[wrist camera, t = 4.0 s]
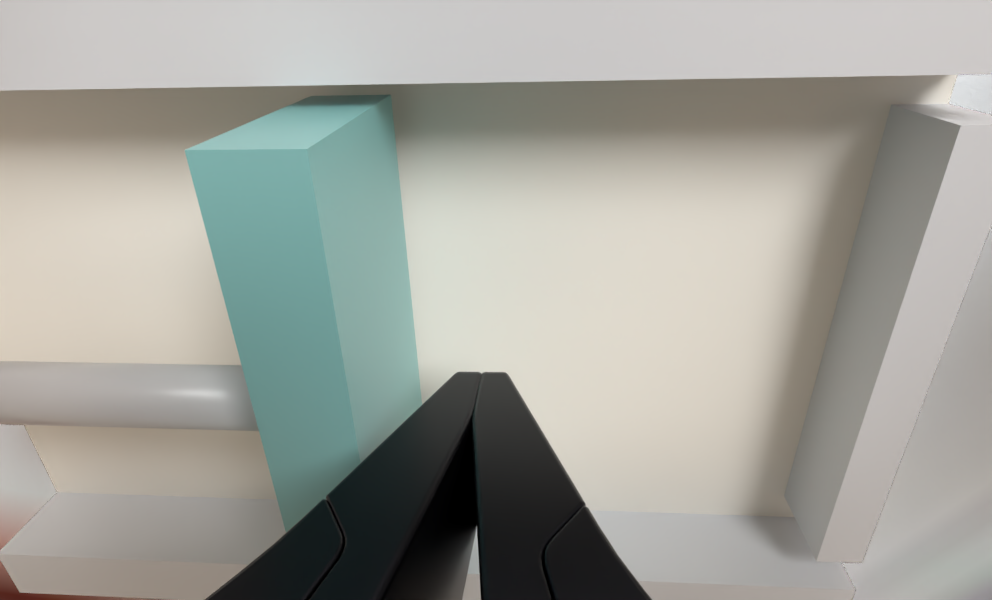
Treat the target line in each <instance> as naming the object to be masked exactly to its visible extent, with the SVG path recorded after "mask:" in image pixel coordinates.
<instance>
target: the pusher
mask: <svg viewBox="0 0 992 600" xmlns="http://www.w3.org/2000/svg"><path fill="white" fill-rule="evenodd" d="M185 154H186V158H187V162H188V165H189V169H190V173H191V177H192V181H193V184H194V188H195V192H196V196H197V199H198V203H199V207H200V211H201V214H202V218H203V222H204V226H205V230H206V233H207V237H208V241H209V245H210V248H211V252H212V256H213V260H214V263H215V267H216V271H217V275H218V279H219V282H220V286H221V290H222V294H223V297H224V301H225V305H226V309H227V312H228V316H229V320H230V324H231V328H232V331H233V335H234V339H235V343H236V346H237V350H238V354H239V358H240V361H241V365H202V364H145V363H87V362H30V361H0V424H4V425H43V426H82V427H122V428H161V429H200V430H240V431H259V433H260V437H261V441H262V444H263V448H264V452H265V456H266V459H267V463H268V467H269V471H270V475H271V478H272V482H273V486H274V490H275V493H276V497H277V501H278V505H279V508H280V512H281V516H282V520H283V524H284V527H285V531H286V532H287V531H289V530H290V529H291V528H292V527H293V526H294V525H295V524H296V523H297V522H299V521H300V520H301V519H302V518H303V517H304V516H305V515H306V514H307V513H308V512H309V511H310V510H311V509H313V508H314V507H315V506H316V505H317V504H318V503H319V502H320V501H321V500H322V499H325V500H326V496H327V495H328V494H329V493H330V492H331V491H332V490H333V489H334V488H335V487H336V486H337V485H338V484H339V483H340V482H341V481H342V480H343V479H344V478H345V477H346V476H348V475H349V474H350V473H351V472H352V471H353V470H354V469H355V468H356V467H357V466H358V465H359V464H360V463H361V462H362V461H363V460H364V459H365V458H366V457H368V456H369V455H370V454H371V453H372V452H373V451H374V450H375V449H376V448H377V447H378V446H379V445H380V444H381V443H382V442H383V441H384V440H385V439H386V438H387V437H389V436H390V435H391V434H392V433H393V432H394V431H395V430H396V429H397V428H398V427H399V426H400V425H401V424H402V423H403V422H404V421H405V420H406V419H407V418H409V417H410V416H411V415H412V414H413V413H414V412H415V411H416V410H417V409H418V408H419V407H420V406H421V405H422V399H421V389H420V379H419V369H418V359H417V349H416V339H415V329H414V319H413V309H412V299H411V289H410V279H409V269H408V259H407V249H406V240H405V230H404V220H403V210H402V200H401V190H400V180H399V170H398V160H397V150H396V140H395V130H394V120H393V110H392V100H391V95H332V96H310V97H307V98H305V99H303V100H300V101H298V102H296V103H293V104H291V105H289V106H286V107H284V108H282V109H279V110H277V111H275V112H272V113H270V114H268V115H265V116H263V117H261V118H258V119H256V120H254V121H251V122H249V123H247V124H244V125H242V126H240V127H237V128H235V129H233V130H230V131H228V132H226V133H223V134H221V135H219V136H216V137H214V138H212V139H209V140H207V141H205V142H202V143H200V144H198V145H195V146H193V147H191V148H188V149H186V150H185Z"/></svg>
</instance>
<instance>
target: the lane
mask: <svg viewBox="0 0 992 600" xmlns="http://www.w3.org/2000/svg"><path fill="white" fill-rule="evenodd" d="M975 74H992V0H0V361H30V362H87V363H145V364H202V365H241V361H240V358H239V354H238V350H237V346H236V343H235V339H234V335H233V331H232V328H231V324H230V320H229V316H228V312H227V309H226V305H225V301H224V297H223V294H222V290H221V286H220V282H219V279H218V275H217V271H216V267H215V263H214V260H213V256H212V252H211V248H210V245H209V241H208V237H207V233H206V230H205V226H204V222H203V218H202V214H201V211H200V207H199V203H198V199H197V196H196V192H195V188H194V184H193V181H192V177H191V173H190V169H189V165H188V162H187V158H186V154H185V150H186V149H188V148H191V147H193V146H195V145H198V144H200V143H202V142H205V141H207V140H209V139H212V138H214V137H216V136H219V135H221V134H223V133H226V132H228V131H230V130H233V129H235V128H237V127H240V126H242V125H244V124H247V123H249V122H251V121H254V120H256V119H258V118H261V117H263V116H265V115H268V114H270V113H272V112H275V111H277V110H279V109H282V108H284V107H286V106H289V105H291V104H293V103H296V102H298V101H300V100H303V99H305V98H307V97H310V96H332V95H391V100H392V110H393V120H394V130H395V140H396V150H397V160H398V170H399V180H400V190H401V200H402V210H403V220H404V230H405V240H406V249H407V259H408V269H409V279H410V289H411V299H412V309H413V319H414V329H415V339H416V349H417V359H418V369H419V379H420V389H421V399H422V404H423V403H424V402H425V401H426V400H427V399H429V398H430V397H431V396H432V395H433V394H434V393H435V392H436V391H437V390H438V389H439V388H440V387H441V386H442V385H443V384H444V383H445V382H446V381H447V380H449V379H450V378H451V377H452V376H453V375H454V374H455V373H457V372H480V373H483V372H506V373H507V374H508V375H509V376H510V378H511V380H512V381H513V383H514V385H515V386H516V388H517V390H518V391H519V393H520V395H521V396H522V398H523V400H524V401H525V403H526V405H527V407H528V408H529V410H530V412H531V413H532V415H533V417H534V418H535V420H536V422H537V423H538V425H539V427H540V428H541V430H542V432H543V433H544V435H545V437H546V438H547V440H548V442H549V443H550V445H551V447H552V448H553V450H554V452H555V453H556V455H557V457H558V458H559V460H560V462H561V463H562V465H563V467H564V468H565V470H566V472H567V473H568V475H569V477H570V478H571V480H572V482H573V483H574V485H575V487H576V488H577V490H578V492H579V493H580V495H581V497H582V499H583V500H584V502H585V504H586V507H588V508H589V510H590V511H591V513H592V515H593V516H594V518H595V520H596V521H597V523H598V525H599V526H600V528H601V530H602V531H603V533H604V534H605V536H606V537H607V539H608V540H609V542H610V543H611V545H612V546H613V548H614V549H615V551H616V553H617V554H618V556H619V557H620V558H621V560H622V561H623V562H624V564H625V565H626V566H627V568H628V569H629V570H630V572H631V573H632V574H633V576H634V577H635V578H636V580H637V581H638V582H639V584H640V585H641V586H642V587H643V589H644V590H645V591H646V593H647V594H648V595H649V596H650V598H651V599H652V600H852V599H853V596H854V594H855V591H856V589H855V587H854V585H853V584H852V582H851V580H850V578H849V576H848V574H847V572H846V570H845V569H844V567H843V565H842V563H862V561H863V559H864V556H865V554H866V551H867V548H868V546H869V543H870V541H871V538H872V535H873V533H874V530H875V528H876V525H877V522H878V520H879V517H880V515H881V512H882V509H883V507H884V504H885V501H886V499H887V496H888V494H889V491H890V488H891V486H892V483H893V481H894V478H895V475H896V473H897V470H898V468H899V465H900V462H901V460H902V457H903V455H904V452H905V449H906V447H907V444H908V442H909V439H910V436H911V434H912V431H913V429H914V426H915V423H916V421H917V418H918V416H919V413H920V410H921V408H922V405H923V403H924V400H925V397H926V395H927V392H928V389H929V387H930V384H931V382H932V379H933V376H934V374H935V371H936V369H937V366H938V363H939V361H940V358H941V356H942V353H943V350H944V348H945V345H946V343H947V340H948V337H949V335H950V332H951V330H952V327H953V324H954V322H955V319H956V317H957V314H958V311H959V309H960V306H961V304H962V301H963V298H964V296H965V293H966V291H967V288H968V285H969V283H970V280H971V277H972V275H973V272H974V270H975V267H976V264H977V262H978V259H979V257H980V254H981V251H982V249H983V246H984V244H985V241H986V238H987V236H988V233H989V231H990V228H991V225H992V115H990V114H986V113H982V112H978V111H975V110H971V109H967V108H963V107H959V106H955V105H951V104H949V100H950V97H951V94H952V91H953V88H954V85H955V82H956V78H957V75H975ZM24 426H25V428H26V430H27V432H28V434H29V436H30V438H31V440H32V443H33V445H34V447H35V449H36V451H37V453H38V455H39V457H40V459H41V461H42V463H43V465H44V467H45V469H46V471H47V473H48V475H49V477H50V479H51V481H52V483H53V485H54V487H55V489H56V491H57V493H56V494H55V495H54V496H53V497H52V498H51V499H50V500H49V501H48V502H47V503H46V504H45V505H44V506H43V507H42V508H41V509H40V510H39V511H38V512H37V513H36V514H35V515H34V516H33V517H32V518H31V519H30V521H29V522H28V523H27V524H26V525H25V526H24V527H23V528H22V529H21V530H20V531H19V532H18V533H17V534H16V535H15V536H14V537H13V538H12V539H11V540H10V541H9V542H8V543H7V544H6V545H5V546H4V547H3V548H2V549H1V550H0V560H1V562H2V564H3V565H4V567H5V569H6V570H7V572H8V574H9V575H10V577H11V579H12V580H13V582H14V584H15V585H16V587H17V589H18V590H19V592H20V593H40V594H61V595H83V596H104V597H126V598H147V599H169V600H204V599H206V598H207V597H208V596H210V595H211V594H212V593H213V592H215V591H216V590H217V589H218V588H220V587H221V586H222V585H224V584H225V583H226V582H227V581H229V580H230V579H231V578H232V577H234V576H235V575H236V574H238V573H239V572H240V571H241V570H242V569H244V568H245V567H246V566H247V565H249V564H250V563H251V562H252V561H253V560H255V559H256V558H257V557H258V556H259V555H261V554H262V553H263V552H264V551H266V550H267V549H268V548H269V547H270V546H272V545H273V544H274V543H275V542H276V541H277V540H279V539H280V538H281V537H282V536H283V535H284V534H285V533H286V531H285V527H284V524H283V520H282V516H281V512H280V508H279V505H278V501H277V497H276V493H275V490H274V486H273V482H272V478H271V475H270V471H269V467H268V463H267V459H266V456H265V452H264V448H263V444H262V441H261V437H260V433H259V431H240V430H200V429H161V428H122V427H82V426H43V425H24ZM841 562H842V563H841ZM462 600H481V592H480V574H479V556H478V538H477V528H476V533H475V538H474V543H473V548H472V553H471V558H470V563H469V568H468V573H467V578H466V583H465V588H464V593H463V598H462Z"/></svg>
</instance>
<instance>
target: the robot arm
mask: <svg viewBox="0 0 992 600" xmlns="http://www.w3.org/2000/svg"><path fill="white" fill-rule="evenodd" d="M476 528H477V538H478V556H479V574H480V592H481V600H652V599H651V598H650V596H649V595H648V594H647V593H646V591H645V590H644V589H643V587H642V586H641V585H640V584H639V582H638V581H637V580H636V578H635V577H634V576H633V574H632V573H631V572H630V570H629V569H628V568H627V566H626V565H625V564H624V562H623V561H622V560H621V558H620V557H619V556H618V554H617V553H616V551H615V549H614V548H613V546H612V545H611V543H610V542H609V540H608V539H607V537H606V536H605V534H604V533H603V531H602V530H601V528H600V526H599V525H598V523H597V521H596V520H595V518H594V516H593V515H592V513H591V511H590V510H589V508H588V507H586V504H585V502H584V500H583V499H582V497H581V495H580V493H579V492H578V490H577V488H576V487H575V485H574V483H573V482H572V480H571V478H570V477H569V475H568V473H567V472H566V470H565V468H564V467H563V465H562V463H561V462H560V460H559V458H558V457H557V455H556V453H555V452H554V450H553V448H552V447H551V445H550V443H549V442H548V440H547V438H546V437H545V435H544V433H543V432H542V430H541V428H540V427H539V425H538V423H537V422H536V420H535V418H534V417H533V415H532V413H531V412H530V410H529V408H528V407H527V405H526V403H525V401H524V400H523V398H522V396H521V395H520V393H519V391H518V390H517V388H516V386H515V385H514V383H513V381H512V380H511V378H510V376H509V375H508V374H507V373H506V372H483V373H480V372H457V373H455V374H454V375H453V376H452V377H451V378H450V379H449V380H447V381H446V382H445V383H444V384H443V385H442V386H441V387H440V388H439V389H438V390H437V391H436V392H435V393H434V394H433V395H432V396H431V397H430V398H429V399H427V400H426V401H425V402H424V403H423V404H422V405H421V406H420V407H419V408H418V409H417V410H416V411H415V412H414V413H413V414H412V415H411V416H410V417H409V418H407V419H406V420H405V421H404V422H403V423H402V424H401V425H400V426H399V427H398V428H397V429H396V430H395V431H394V432H393V433H392V434H391V435H390V436H389V437H387V438H386V439H385V440H384V441H383V442H382V443H381V444H380V445H379V446H378V447H377V448H376V449H375V450H374V451H373V452H372V453H371V454H370V455H369V456H368V457H366V458H365V459H364V460H363V461H362V462H361V463H360V464H359V465H358V466H357V467H356V468H355V469H354V470H353V471H352V472H351V473H350V474H349V475H348V476H346V477H345V478H344V479H343V480H342V481H341V482H340V483H339V484H338V485H337V486H336V487H335V488H334V489H333V490H332V491H331V492H330V493H329V494H328V495H327V496H326V500H325V499H322V500H321V501H320V502H319V503H318V504H317V505H316V506H315V507H314V508H313V509H311V510H310V511H309V512H308V513H307V514H306V515H305V516H304V517H303V518H302V519H301V520H300V521H299V522H297V523H296V524H295V525H294V526H293V527H292V528H291V529H290V530H289V531H287V532H286V533H285V534H284V535H283V536H282V537H281V538H280V539H279V540H277V541H276V542H275V543H274V544H273V545H272V546H270V547H269V548H268V549H267V550H266V551H264V552H263V553H262V554H261V555H259V556H258V557H257V558H256V559H255V560H253V561H252V562H251V563H250V564H249V565H247V566H246V567H245V568H244V569H242V570H241V571H240V572H239V573H238V574H236V575H235V576H234V577H232V578H231V579H230V580H229V581H227V582H226V583H225V584H224V585H222V586H221V587H220V588H218V589H217V590H216V591H215V592H213V593H212V594H211V595H210V596H208V597H207V598H206V599H204V600H462V598H463V593H464V588H465V583H466V578H467V573H468V568H469V563H470V558H471V553H472V548H473V543H474V538H475V533H476Z"/></svg>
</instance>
